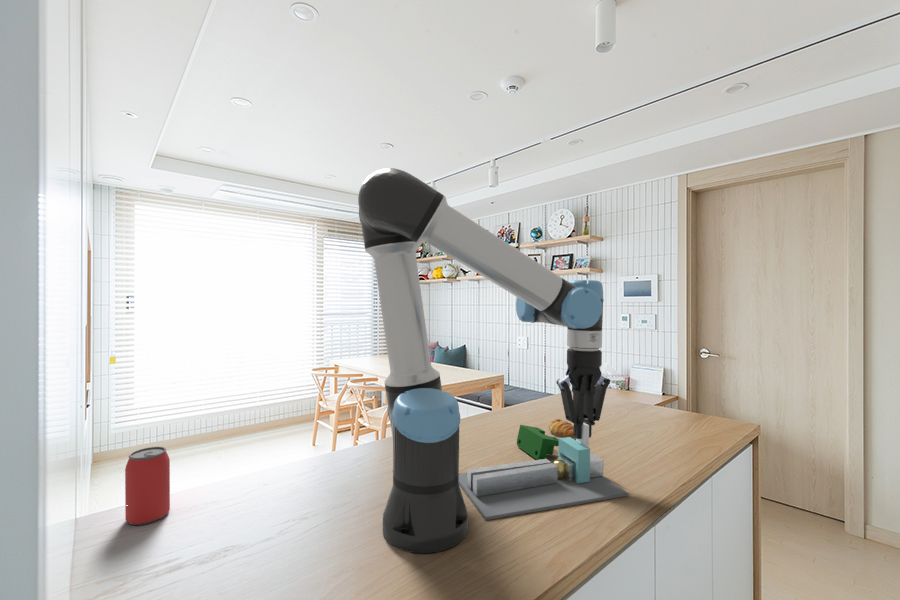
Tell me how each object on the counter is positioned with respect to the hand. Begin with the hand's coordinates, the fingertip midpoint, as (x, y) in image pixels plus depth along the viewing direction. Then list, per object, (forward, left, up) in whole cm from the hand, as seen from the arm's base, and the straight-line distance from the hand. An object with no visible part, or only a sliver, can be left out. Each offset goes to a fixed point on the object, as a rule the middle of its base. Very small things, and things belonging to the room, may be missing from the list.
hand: (582, 451), depth 94 cm
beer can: (-87, +9, -6) cm, 88 cm away
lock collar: (-2, 0, -5) cm, 5 cm away
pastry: (+12, +26, -6) cm, 30 cm away
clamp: (-2, +16, -6) cm, 17 cm away
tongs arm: (-17, -2, -5) cm, 18 cm away
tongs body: (-11, 0, -5) cm, 13 cm away
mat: (-12, -1, -6) cm, 13 cm away
